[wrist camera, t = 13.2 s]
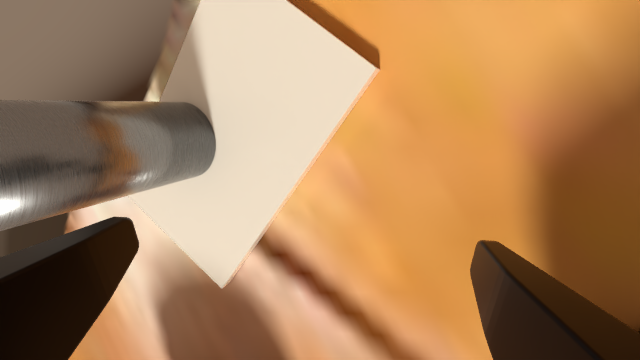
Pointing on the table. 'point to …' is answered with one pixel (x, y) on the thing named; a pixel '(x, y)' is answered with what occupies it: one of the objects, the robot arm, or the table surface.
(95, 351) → the table surface
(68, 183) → the tin
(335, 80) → the tile
